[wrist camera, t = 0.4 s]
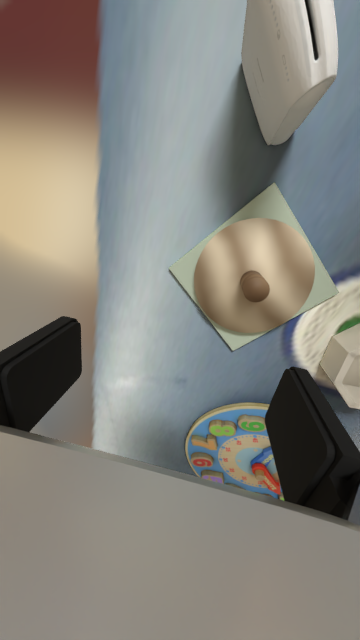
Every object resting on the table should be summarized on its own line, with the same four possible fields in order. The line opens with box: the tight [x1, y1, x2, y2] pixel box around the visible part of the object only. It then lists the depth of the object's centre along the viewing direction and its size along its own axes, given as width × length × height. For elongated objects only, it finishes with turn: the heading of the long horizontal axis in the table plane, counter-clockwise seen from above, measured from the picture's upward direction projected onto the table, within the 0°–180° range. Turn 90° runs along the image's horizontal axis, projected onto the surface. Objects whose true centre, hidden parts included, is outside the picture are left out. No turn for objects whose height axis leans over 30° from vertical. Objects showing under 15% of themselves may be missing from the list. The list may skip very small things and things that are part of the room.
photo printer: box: [241, 0, 338, 145], centre depth 20 cm, size 10×4×12 cm, turn 26°
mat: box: [169, 182, 339, 351], centre depth 34 cm, size 18×18×1 cm
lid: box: [194, 218, 315, 333], centre depth 31 cm, size 17×17×6 cm
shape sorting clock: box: [185, 403, 284, 501], centre depth 46 cm, size 31×30×6 cm
